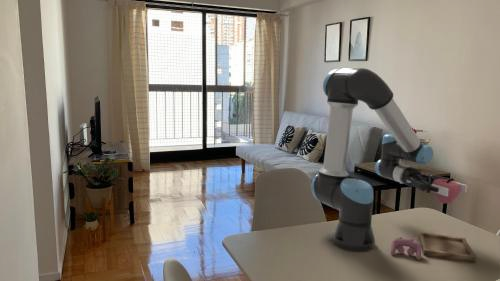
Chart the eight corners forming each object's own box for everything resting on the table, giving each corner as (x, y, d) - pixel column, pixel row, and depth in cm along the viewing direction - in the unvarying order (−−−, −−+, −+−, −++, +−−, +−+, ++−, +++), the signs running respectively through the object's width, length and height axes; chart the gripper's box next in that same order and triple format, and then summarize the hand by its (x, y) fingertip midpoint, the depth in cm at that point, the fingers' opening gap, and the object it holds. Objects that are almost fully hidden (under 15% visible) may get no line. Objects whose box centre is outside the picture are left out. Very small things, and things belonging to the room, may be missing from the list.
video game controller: (420, 261, 132) (421, 240, 134) (420, 260, 128) (422, 239, 130) (390, 255, 136) (392, 235, 138) (389, 254, 132) (391, 234, 134)
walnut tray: (423, 255, 133) (424, 250, 133) (418, 237, 148) (419, 232, 148) (475, 262, 128) (475, 257, 128) (464, 243, 143) (465, 238, 143)
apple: (455, 199, 145) (457, 174, 143) (462, 207, 137) (465, 181, 135) (428, 198, 147) (430, 173, 145) (433, 205, 139) (436, 179, 137)
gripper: (425, 180, 162) (475, 196, 142) (386, 187, 153) (434, 205, 133) (426, 163, 161) (477, 177, 141) (388, 169, 151) (436, 184, 132)
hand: (457, 190), depth 137 cm, fingers closed on apple, 9 cm apart
